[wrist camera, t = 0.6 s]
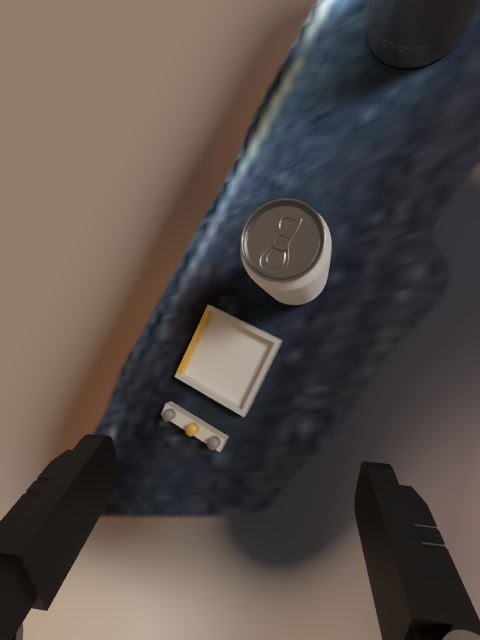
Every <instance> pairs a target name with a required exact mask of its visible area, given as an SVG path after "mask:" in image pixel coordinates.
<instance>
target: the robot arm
mask: <svg viewBox="0 0 480 640" xmlns="http://www.w3.org/2000/svg"><path fill="white" fill-rule="evenodd" d="M479 5H480V0H371V3H370V10H369V16H368V23H367V40H368V45H369V47H370V49H371V51H372V52H373V54H374V55H375V56H376V57H377V58H378V59H379V60H381V61H382V62H384V63H386V64H388V65H391V66H394V67H400V68H415V67H420V66H424V65H428V64H430V63H432V62H434V61H437V60H439V59H440V58H442V57H443V56H445V55H446V54H448V53H449V52H450V51H451V50H452V49H453V48H455V47H456V46H457V45H458V43H459V42H460V41H461V39H462V38H463V37H464V35H465V33H466V31H467V29H468V27H469V25H470V23H471V21H472V19H473V17H474V15H475V13H476V11H477V9H478V7H479ZM118 479H119V465H118V461H117V457H116V452H115V448H114V444H113V440H112V438H111V437H110V436H101V435H90V434H88V435H85V436H84V437H83V438H82V439H81V440H80V441H79V443H78V444H77V445H76V446H75V448H74V449H73V450H66V451H65V452H64V453H62V454H61V455H60V456H58V457H57V458H55V459H54V460H53V461H51V462H50V463H49V465H48V466H47V467H46V468H45V469H44V470H43V472H42V473H41V474H40V475H39V477H38V479H37V480H36V481H34V482H33V484H32V485H31V486H30V487H29V488H28V489H27V492H26V494H23V495H22V496H21V498H20V499H19V500H18V501H17V502H16V504H15V505H14V506H13V507H12V508H11V509H10V511H9V512H8V513H7V514H6V515H5V516H4V518H3V519H2V520H1V521H0V640H23V624H22V623H23V621H24V619H25V618H26V616H27V614H28V613H29V611H30V609H31V608H34V609H39V610H45V611H47V610H48V608H49V607H50V605H51V603H52V601H53V599H54V598H55V596H56V594H57V592H58V590H59V588H60V586H61V585H62V583H63V581H64V580H65V578H66V576H67V574H68V572H69V571H70V569H71V567H72V565H73V564H74V562H75V560H76V558H77V556H78V555H79V552H80V551H81V549H82V547H83V546H84V544H85V542H86V540H87V538H88V537H89V534H90V533H91V531H92V530H93V528H94V526H95V524H96V522H97V520H98V519H99V517H100V515H101V513H102V512H103V510H104V508H105V506H106V504H107V503H108V501H109V499H110V497H111V495H112V494H113V492H114V490H115V488H116V486H117V483H118ZM354 503H355V504H354V505H355V516H356V521H357V526H358V530H359V535H360V539H361V544H362V549H363V553H364V558H365V562H366V567H367V572H368V576H369V581H370V585H371V590H372V594H373V599H374V604H375V608H376V613H377V617H378V621H379V626H380V630H381V636H382V640H480V620H479V618H478V616H477V614H476V612H475V609H474V607H473V605H472V602H471V600H470V598H469V596H468V594H467V591H466V589H465V587H464V585H463V583H462V580H461V578H460V576H459V574H458V572H457V569H456V567H455V565H454V563H453V560H452V558H451V556H450V554H449V552H448V550H447V548H445V543H444V541H443V538H442V536H441V534H440V532H439V530H437V527H436V526H437V525H436V523H435V521H434V519H433V516H432V514H431V512H430V510H429V508H428V505H427V504H426V503H425V501H424V500H423V499H422V498H421V497H420V496H419V495H418V494H417V492H416V491H415V490H414V489H413V488H412V486H404V485H399V483H398V481H397V478H396V475H395V473H394V470H393V468H392V466H391V465H390V464H384V463H373V462H362V464H361V468H360V473H359V477H358V482H357V487H356V492H355V500H354Z"/></svg>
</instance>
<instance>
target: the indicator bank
mask: <svg viewBox="0 0 480 640" xmlns="http://www.w3.org/2000/svg"><path fill="white" fill-rule="evenodd" d="M161 415H162V418H163V420H164V421H167V422H168V421H171V422H173V423H174V424H176V425H177V426H179V427H181V428H182V429H184V430H185V432H186V434H187V435H188V436H195V437H196V438H198V439H200V440H201V441H203V442H204V443H206V444H207V446H208V448H209V449H210V450H217V451H219V452H220V451H221V450H222V449H223V447H224V445H225V443H226V441H227V439H228V437H229V436H227V435H225V434H224V433H222V432H220V431H219V430H217V429H216V428H214V427H212V426H211V425H209V424H207V423H206V422H204V421H202V420H201V419H199V418H198V417H196V416H194V415H193V414H191V413H189V412H188V411H186V410H184V409H183V408H181V407H179V406H178V405H176V404H175V403H173V402H168V403H166V404H165V407H164V409H163V411H162V413H161Z"/></svg>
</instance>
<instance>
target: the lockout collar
mask: <svg viewBox="0 0 480 640" xmlns="http://www.w3.org/2000/svg"><path fill="white" fill-rule="evenodd" d="M282 341H283V340H281V339H279V338H277V337H275V336H273V335H271V334H269V333H266V332H264V331H262V330H260V329H258V328H256V327H254V326H252V325H250V324H248V323H246V322H244V321H242V320H240V319H238V318H236V317H234V316H232V315H230V314H228V313H226V312H224V311H222V310H220V309H218V308H216V307H214V306H211V305H208V306H207V308H206V310H205V312H204V314H203V316H202V318H201V321H200V323H199V325H198V327H197V329H196V331H195V333H194V336H193V338H192V340H191V342H190V344H189V346H188V349H187V351H186V353H185V355H184V357H183V359H182V361H181V364H180V366H179V368H178V370H177V372H176V374H175V377H176V378H178V379H179V380H181V381H183V382H184V383H186V384H188V385H190V386H191V387H193V388H195V389H196V390H198V391H200V392H202V393H203V394H205V395H207V396H208V397H210V398H212V399H214V400H215V401H217V402H219V403H220V404H222V405H224V406H226V407H227V408H229V409H231V410H232V411H234V412H236V413H237V414H239V415H241V416H243V417H245V415H246V414H247V413H248V411H249V409H250V407H251V405H252V403H253V401H254V399H255V397H256V395H257V392H258V390H259V388H260V386H261V384H262V382H263V380H264V378H265V376H266V374H267V372H268V370H269V368H270V366H271V364H272V362H273V360H274V358H275V355H276V353H277V351H278V349H279V347H280V345H281V343H282Z"/></svg>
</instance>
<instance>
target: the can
mask: <svg viewBox="0 0 480 640" xmlns="http://www.w3.org/2000/svg"><path fill="white" fill-rule="evenodd" d="M330 257H331V236H330V232H329V229H328V227H327V225H326V223H325V221H324V220H323V218H322V217H321V216H320V215H319V214H318V213H317V212H316V211H315V210H314V209H313V208H312V207H311V206H309V205H308V204H306V203H304V202H302V201H300V200H296V199H290V198H283V199H276V200H273V201H270V202H268V203H265V204H264V205H262V206H261V207H259V208H258V209H257V210H255V211H254V212H253V213H252V215H251V216H250V217H249V219H248V220H247V222H246V224H245V226H244V228H243V231H242V235H241V258H242V262H243V265H244V267H245V269H246V271H247V273H248V274H249V276H250V277H251V278H252V279H253V280H254V281H255V282H256V283H257V284H258V285H259V286H260V287H261V288H262V289H264V290H265V291H266V292H267V293H268V294H270V295H271V296H272V297H273V298H274V299H276V300H277V301H279V302H281V303H284V304H289V305H301V304H305V303H308V302H310V301H311V300H313V299H314V298H316V297H317V296H318V295H319V294H320V293H321V291H322V290H323V288H324V286H325V284H326V281H327V277H328V271H329V264H330Z"/></svg>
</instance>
